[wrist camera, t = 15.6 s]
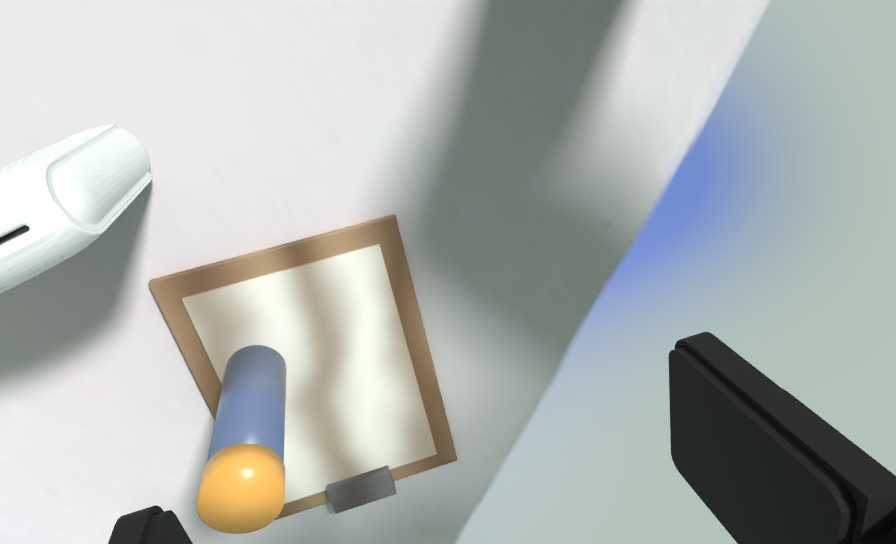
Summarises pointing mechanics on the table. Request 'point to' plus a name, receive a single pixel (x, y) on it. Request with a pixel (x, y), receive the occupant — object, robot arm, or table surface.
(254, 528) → the cylinder
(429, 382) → the clipboard
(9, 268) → the photo printer
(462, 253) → the table surface
